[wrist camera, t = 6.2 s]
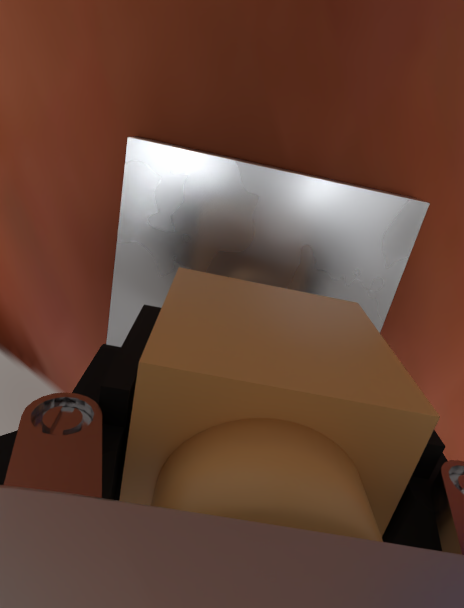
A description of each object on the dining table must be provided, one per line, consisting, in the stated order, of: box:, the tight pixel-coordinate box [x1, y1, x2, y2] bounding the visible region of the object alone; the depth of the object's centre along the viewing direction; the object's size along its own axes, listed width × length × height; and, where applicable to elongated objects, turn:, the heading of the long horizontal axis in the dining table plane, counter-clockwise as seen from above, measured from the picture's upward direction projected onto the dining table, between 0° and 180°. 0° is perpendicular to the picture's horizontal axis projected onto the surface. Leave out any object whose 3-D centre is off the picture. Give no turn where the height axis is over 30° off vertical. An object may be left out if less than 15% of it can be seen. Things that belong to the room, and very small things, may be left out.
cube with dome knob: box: [119, 267, 440, 542], centre depth 9 cm, size 5×5×7 cm
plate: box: [106, 136, 430, 347], centre depth 14 cm, size 10×10×4 cm
